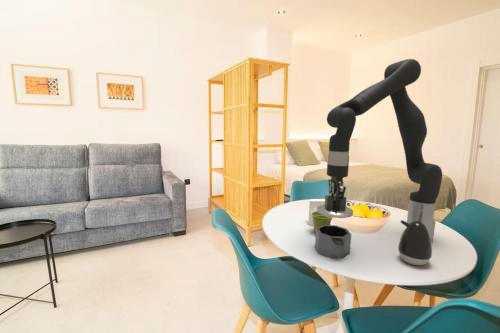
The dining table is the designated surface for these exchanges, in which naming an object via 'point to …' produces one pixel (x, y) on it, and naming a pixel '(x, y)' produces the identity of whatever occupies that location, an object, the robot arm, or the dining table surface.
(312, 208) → the white tall block
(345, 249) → the pot
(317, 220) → the plant pot
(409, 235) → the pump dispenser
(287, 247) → the dining table surface
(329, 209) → the lid
